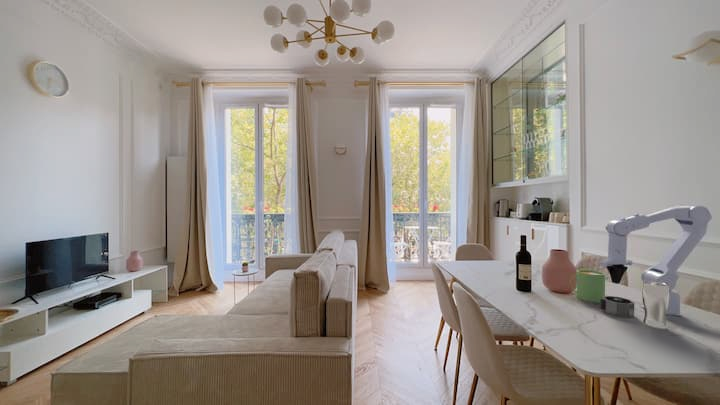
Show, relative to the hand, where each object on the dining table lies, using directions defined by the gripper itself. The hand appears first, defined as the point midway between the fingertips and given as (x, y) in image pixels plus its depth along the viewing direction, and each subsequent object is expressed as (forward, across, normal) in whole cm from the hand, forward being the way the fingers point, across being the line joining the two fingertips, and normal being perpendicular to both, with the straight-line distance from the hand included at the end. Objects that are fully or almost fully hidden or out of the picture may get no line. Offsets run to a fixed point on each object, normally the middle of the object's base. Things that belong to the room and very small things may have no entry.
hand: (615, 283), depth 125 cm
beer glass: (+10, +4, +16) cm, 20 cm away
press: (+10, +4, +4) cm, 12 cm away
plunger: (+10, +4, +4) cm, 11 cm away
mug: (+11, -1, -13) cm, 17 cm away
